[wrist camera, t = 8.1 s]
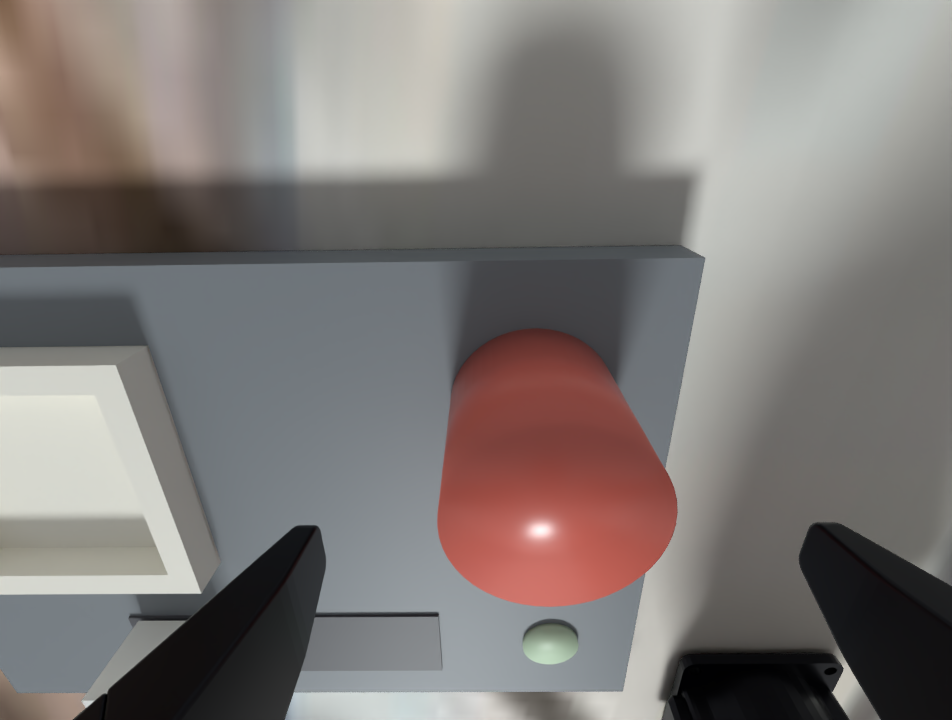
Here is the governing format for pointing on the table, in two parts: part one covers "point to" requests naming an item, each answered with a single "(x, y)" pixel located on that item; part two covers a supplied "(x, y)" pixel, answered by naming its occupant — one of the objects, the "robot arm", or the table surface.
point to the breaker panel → (296, 448)
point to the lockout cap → (549, 475)
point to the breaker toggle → (131, 654)
